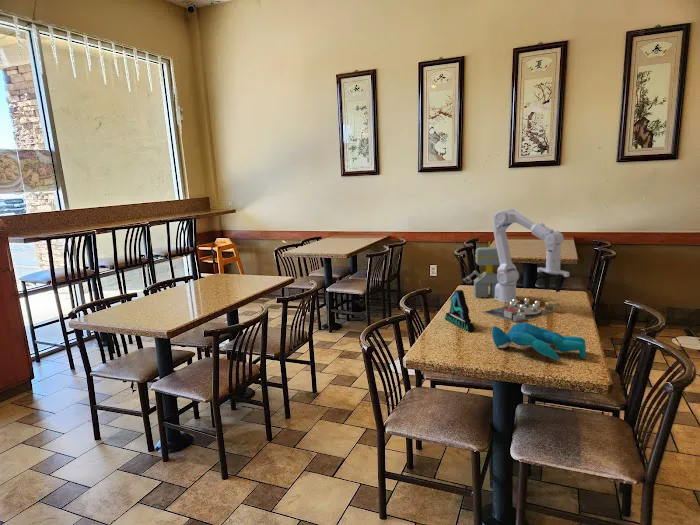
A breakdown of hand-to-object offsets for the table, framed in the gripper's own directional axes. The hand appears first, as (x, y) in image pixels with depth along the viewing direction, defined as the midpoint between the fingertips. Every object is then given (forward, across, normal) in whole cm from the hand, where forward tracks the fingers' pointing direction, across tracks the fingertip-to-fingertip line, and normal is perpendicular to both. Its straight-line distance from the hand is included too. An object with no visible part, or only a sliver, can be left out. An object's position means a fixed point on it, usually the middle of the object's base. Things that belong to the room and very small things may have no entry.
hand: (552, 290), depth 200 cm
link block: (+10, 0, 0) cm, 10 cm away
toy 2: (+10, +27, -44) cm, 52 cm away
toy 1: (+10, -36, -1) cm, 37 cm away
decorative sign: (+10, -10, -45) cm, 47 cm away
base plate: (+9, -6, -15) cm, 19 cm away
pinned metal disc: (+9, -6, -11) cm, 15 cm away
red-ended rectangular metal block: (+9, -2, -24) cm, 25 cm away
